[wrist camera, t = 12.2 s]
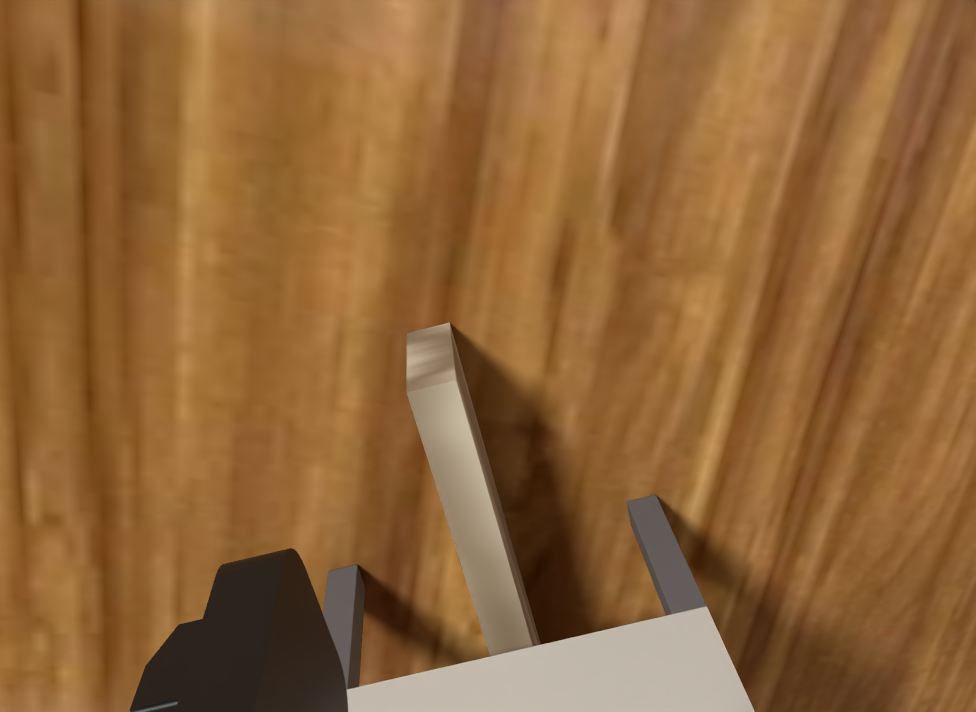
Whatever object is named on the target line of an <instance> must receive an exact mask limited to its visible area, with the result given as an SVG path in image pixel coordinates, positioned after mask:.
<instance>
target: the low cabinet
mask: <svg viewBox="0 0 976 712" xmlns="http://www.w3.org/2000/svg"><path fill="white" fill-rule="evenodd" d="M627 505H628V511H629V516H630V522H631V526H632V529H633V531H634V534H635V536H636V539H637V542H638V544H639V547H640V549H641V552H642V554H643V557H644V560H645V562H646V565H647V567H648V570H649V572H650V575H651V578H652V580H653V583H654V585H655V588H656V590H657V593H658V595H659V598H660V601H661V603H662V606H663V608H664V611H665V613H666V616H663V617H659V618H654V619H650V620H646V621H641V622H637V623H633V624H628V625H624V626H620V627H615V628H611V629H607V630H603V631H598V632H594V633H590V634H585V635H581V636H577V637H572V638H568V639H564V640H559V641H555V642H551V643H546V644H542V645H538V646H533V647H529V648H525V649H520V650H516V651H512V652H508V653H503V654H499V655H495V656H490V657H486V658H482V659H477V660H473V661H469V662H464V663H460V664H456V665H451V666H447V667H443V668H438V669H434V670H430V671H426V672H421V673H417V674H413V675H408V676H404V677H400V678H395V679H391V680H387V681H382V682H378V683H374V684H369V685H365V686H361V687H359V678H360V662H361V647H362V631H363V615H364V599H365V586H364V583H363V580H362V577H361V574H360V571H359V568H358V566H357V565H354V566H349V567H345V568H341V569H337V570H332V571H328V579H327V587H326V595H325V603H324V611H323V616H324V618H325V621H326V624H327V626H328V629H329V631H330V634H331V637H332V639H333V642H334V645H335V647H336V650H337V652H338V655H339V658H340V661H341V665H342V669H343V673H344V678H345V683H346V690H347V698H348V712H755V711H754V709H753V707H752V704H751V702H750V700H749V698H748V696H747V693H746V691H745V689H744V687H743V685H742V683H741V680H740V678H739V676H738V674H737V672H736V669H735V667H734V665H733V663H732V661H731V658H730V656H729V654H728V652H727V650H726V647H725V645H724V643H723V641H722V639H721V637H720V634H719V632H718V630H717V628H716V626H715V623H714V621H713V619H712V617H711V615H710V612H709V610H708V608H707V606H706V604H705V601H704V599H703V597H702V595H701V593H700V591H699V588H698V586H697V584H696V582H695V580H694V577H693V575H692V573H691V571H690V569H689V566H688V564H687V562H686V560H685V558H684V555H683V553H682V551H681V549H680V547H679V545H678V542H677V540H676V538H675V536H674V534H673V531H672V529H671V527H670V525H669V523H668V520H667V518H666V516H665V514H664V512H663V509H662V507H661V505H660V503H659V501H658V498H657V496H656V495H653V496H649V497H645V498H640V499H636V500H632V501H627Z"/></svg>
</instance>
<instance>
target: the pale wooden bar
mask: <svg viewBox="0 0 976 712" xmlns="http://www.w3.org/2000/svg"><path fill="white" fill-rule="evenodd" d="M407 395H408V398H409V401H410V405H411V408H412V411H413V414H414V417H415V420H416V423H417V427H418V430H419V433H420V436H421V439H422V442H423V446H424V449H425V452H426V455H427V458H428V461H429V465H430V468H431V471H432V474H433V477H434V480H435V484H436V487H437V490H438V493H439V496H440V499H441V503H442V506H443V509H444V512H445V515H446V518H447V521H448V525H449V528H450V531H451V534H452V537H453V540H454V544H455V547H456V550H457V553H458V556H459V559H460V563H461V566H462V569H463V572H464V575H465V578H466V582H467V585H468V588H469V591H470V594H471V597H472V600H473V604H474V607H475V610H476V613H477V616H478V619H479V623H480V626H481V629H482V632H483V635H484V638H485V642H486V645H487V648H488V651H489V654H490V656H495V655H499V654H503V653H508V652H512V651H516V650H520V649H525V648H529V647H533V646H538V645H541V644H540V640H539V637H538V633H537V630H536V626H535V623H534V619H533V615H532V612H531V608H530V605H529V601H528V598H527V594H526V591H525V587H524V584H523V580H522V577H521V573H520V570H519V566H518V562H517V559H516V555H515V552H514V548H513V545H512V541H511V538H510V534H509V531H508V527H507V524H506V520H505V516H504V513H503V509H502V506H501V502H500V499H499V495H498V492H497V488H496V485H495V481H494V478H493V474H492V471H491V467H490V463H489V460H488V456H487V453H486V449H485V446H484V442H483V439H482V435H481V432H480V428H479V425H478V421H477V418H476V414H475V410H474V407H473V403H472V400H471V396H470V393H469V389H468V386H467V382H466V379H465V375H464V372H463V368H462V364H461V361H460V357H459V354H458V350H457V347H456V343H455V340H454V336H453V333H452V329H451V326H450V323H446V324H442V325H438V326H434V327H431V328H427V329H423V330H419V331H415V332H411V333H407Z"/></svg>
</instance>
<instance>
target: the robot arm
mask: <svg viewBox="0 0 976 712" xmlns="http://www.w3.org/2000/svg"><path fill="white" fill-rule="evenodd" d="M130 712H348V698H347V690H346V683H345V678H344V673H343V669H342V665H341V661H340V658H339V655H338V652H337V650H336V647H335V645H334V642H333V639H332V637H331V634H330V631H329V629H328V626H327V624H326V621H325V618H324V616H323V613H322V611H321V608H320V605H319V603H318V600H317V597H316V595H315V592H314V590H313V587H312V584H311V582H310V579H309V577H308V574H307V571H306V569H305V566H304V564H303V561H302V559H301V558H300V556H299V554H298V553H297V552H296V551H295V550H294V549H292V548H291V549H286V550H282V551H277V552H273V553H269V554H264V555H260V556H256V557H252V558H247V559H243V560H239V561H235V562H230V563H226V564H223V565H221V566H220V568H219V569H218V571H217V574H216V577H215V580H214V583H213V587H212V590H211V593H210V597H209V600H208V603H207V607H206V610H205V613H204V617H203V619H201V620H197V621H192V622H188V623H184V624H179V625H178V626H177V627H176V629H175V630H174V631H173V632H172V634H171V635H170V636H169V637H168V639H167V640H166V641H165V642H164V644H163V645H162V646H161V647H160V649H159V650H158V651H157V652H156V654H155V655H154V656H153V657H152V659H151V660H150V661H149V662H148V664H147V665H146V666H145V669H144V672H143V675H142V677H141V680H140V683H139V686H138V688H137V691H136V694H135V697H134V699H133V702H132V705H131V708H130Z"/></svg>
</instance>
